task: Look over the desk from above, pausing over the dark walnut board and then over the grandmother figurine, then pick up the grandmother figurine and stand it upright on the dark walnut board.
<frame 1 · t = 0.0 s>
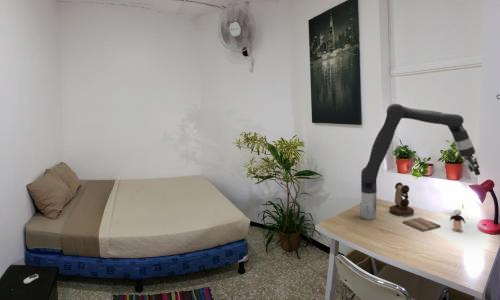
hand: (475, 173, 170), 31 cm above the table, tool tilted 20°, fingers open, 8 cm apart
walnut board: (421, 225, 178), on the table
brown wooden statue: (401, 213, 199), on the table
grandmother figurine: (456, 230, 169), on the table
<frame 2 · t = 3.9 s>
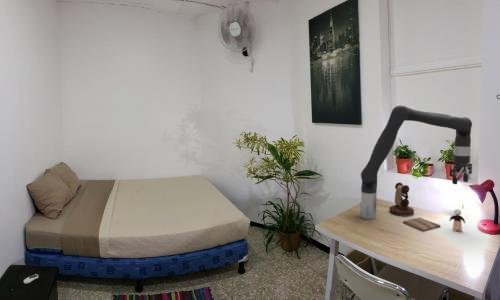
hand: (460, 182, 165), 28 cm above the table, tool pointing down, fingers open, 8 cm apart
nothing on the table moved.
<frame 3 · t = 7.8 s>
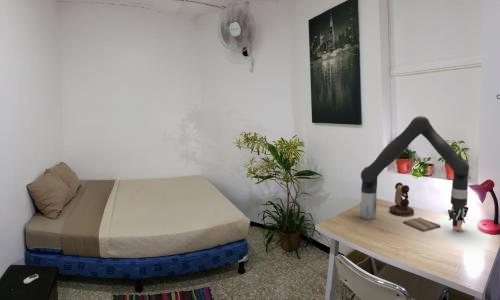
hand: (457, 225, 169), 3 cm above the table, tool pointing down, fingers closed on grandmother figurine, 3 cm apart
grandmother figurine: (456, 230, 169), on the table, touching gripper
everything else where it was.
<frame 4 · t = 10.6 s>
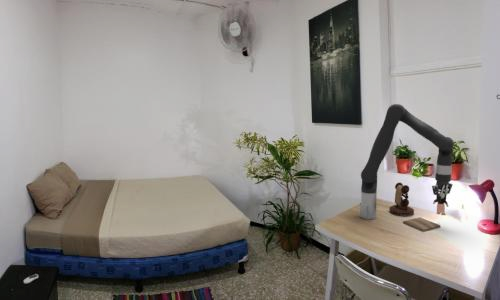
hand: (441, 201, 171), 16 cm above the table, tool pointing down, fingers closed on grandmother figurine, 3 cm apart
grandmother figurine: (439, 214, 172), point 8 cm above the table, touching gripper
everything else where it was.
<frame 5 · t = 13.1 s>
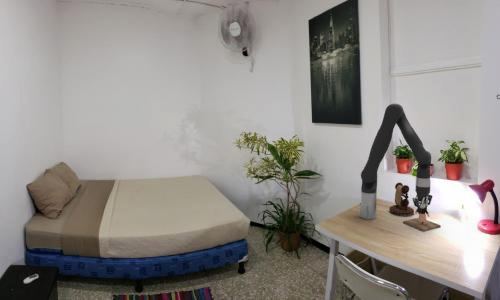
hand: (422, 212, 177), 8 cm above the table, tool pointing down, fingers closed on grandmother figurine, 3 cm apart
grandmother figurine: (421, 223, 178), point 1 cm above the table, touching gripper, walnut board
everything else where it was.
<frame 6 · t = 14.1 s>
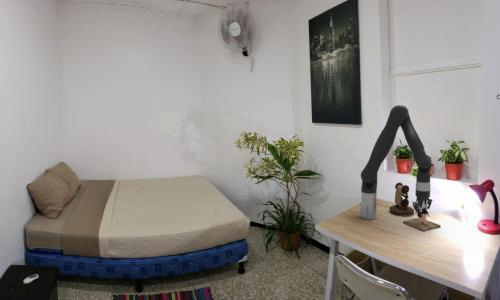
hand: (421, 216, 177), 5 cm above the table, tool pointing down, fingers closed on grandmother figurine, 3 cm apart
grandmother figurine: (421, 223, 178), point 1 cm above the table, touching gripper
everything else where it was.
when the fingers open (5 cm above the table, at t = 14.3 s): grandmother figurine stays where it is, resting on walnut board.
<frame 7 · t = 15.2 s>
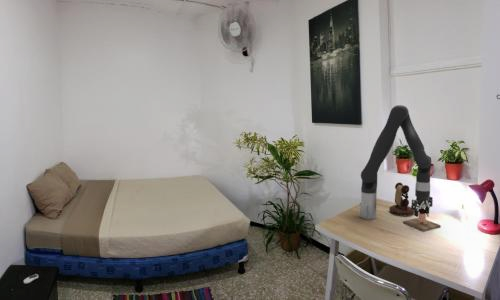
hand: (421, 215, 177), 6 cm above the table, tool pointing down, fingers open, 8 cm apart
grandmother figurine: (421, 223, 178), point 1 cm above the table, touching walnut board
everything else where it was.
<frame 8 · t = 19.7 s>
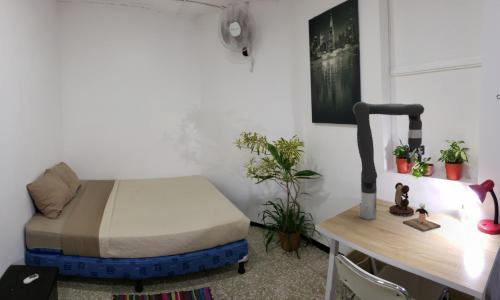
hand: (414, 162, 183), 36 cm above the table, tool pointing down, fingers open, 8 cm apart
nothing on the table moved.
at the end: grandmother figurine inside the target area on the walnut board (0.4 cm from its centre), point 1.0 cm above the walnut board's base; grandmother figurine tilted 0°; the gripper is holding nothing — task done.
